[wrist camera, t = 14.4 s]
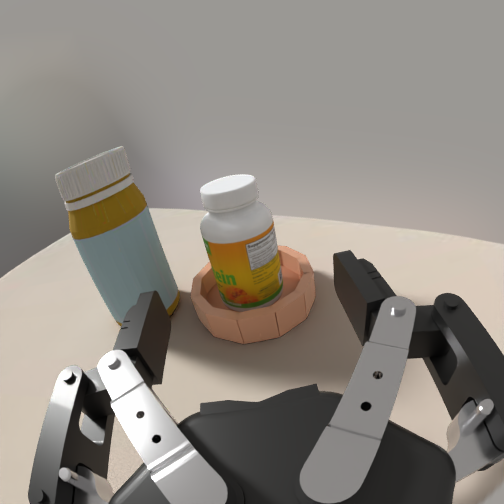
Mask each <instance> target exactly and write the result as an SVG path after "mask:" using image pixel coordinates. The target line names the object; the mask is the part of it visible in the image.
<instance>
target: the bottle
mask: <svg viewBox="0 0 504 504" xmlns="http://www.w3.org/2000/svg"><path fill="white" fill-rule="evenodd" d="M55 179H56V182H57V185H58V188H59V191H60V194H61V197H62V199H63V200H64V201H65V207H66V209H67V210H68V212H69V213H68V214H69V228H70V232H71V234H72V237H73V240H74V242H75V244H76V246H77V248H78V251H79V253H80V255H81V257H82V259H83V261H84V263H85V265H86V267H87V269H88V271H89V273H90V275H91V277H92V279H93V281H94V283H95V285H96V287H97V289H98V291H99V293H100V294H101V296H102V298H103V300H104V302H105V303H106V305H107V307H108V309H109V311H110V312H111V314H112V316H113V317H114V319H115V320H116V322H117V323H118V325H120V326H122V323H123V320H124V318H125V315H126V313H127V312H128V310H129V309H130V308H131V307H132V306H133V305H136V303H137V300H138V298H139V295H140V293H144V292H149V291H155V290H156V291H157V292H158V293H159V295H160V297H161V300H162V302H163V304H164V306H165V308H166V310H167V313H168V315H169V317H170V316H171V315H172V313H173V312H174V310H175V308H176V306H177V304H178V302H179V297H180V293H179V290H178V287H177V285H176V282H175V280H174V277H173V275H172V272H171V270H170V267H169V264H168V262H167V259H166V256H165V254H164V251H163V248H162V246H161V243H160V240H159V238H158V235H157V232H156V229H155V226H154V224H153V221H152V218H151V215H150V212H149V209H148V206H147V203H146V201H145V198H144V196H143V194H142V193H141V192H140V190H139V189H138V188H137V186H136V185H135V184H134V183H133V181H134V179H133V176H132V174H131V173H130V166H129V162H128V159H127V155H126V152H125V148H123V146H121V147H118V148H114V149H111V150H109V151H106V152H103V153H101V154H98V155H96V156H93V157H91V158H89V159H86V160H84V161H82V162H79V163H77V164H75V165H73V166H71V167H69V168H67V169H65V170H63V171H61V172H59V173H57V174H56V175H55Z"/></svg>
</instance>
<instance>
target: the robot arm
mask: <svg viewBox="0 0 504 504" xmlns="http://www.w3.org/2000/svg"><path fill="white" fill-rule="evenodd" d="M333 264H334V285H335V290H336V293H337V296H338V298H339V300H340V302H341V304H342V305H343V307H344V309H345V311H346V313H347V315H348V317H349V319H350V321H351V323H352V325H353V327H354V330H355V332H356V334H357V336H358V338H359V340H360V342H361V344H362V346H364V347H363V350H362V352H361V355H360V357H359V360H358V362H357V365H356V367H355V370H354V372H353V374H352V377H351V379H350V381H349V383H348V386H347V388H346V390H345V392H344V394H343V395H342V394H339V393H334V392H326V391H318V387H317V384H313V385H309V386H304V387H300V388H295V389H291V390H287V391H285V392H282V393H280V394H278V395H275V396H273V397H270V398H268V399H265V400H263V401H260V402H246V401H232V400H225V401H217V402H208V403H201V404H200V412H197V413H195V414H193V415H191V416H189V417H187V418H185V419H184V420H183V421H181V422H180V423H178V422H177V421H176V420H175V419H174V417H173V416H172V415H171V414H170V412H169V411H168V410H167V408H166V407H165V406H164V405H163V403H162V402H161V401H160V399H159V398H158V396H157V395H156V394H155V392H154V391H153V390H152V385H156V384H162V378H163V371H164V365H165V359H166V353H167V348H168V342H169V336H170V331H171V321H170V317H169V315H168V313H167V310H166V308H165V306H164V304H163V302H162V300H161V297H160V295H159V293H158V292H157V291H156V290H155V291H149V292H144V293H140V295H139V298H138V300H137V303H136V305H133V306H132V307H131V308H130V309H129V310H128V312H127V313H126V315H125V318H124V320H123V323H122V326H121V330H120V331H119V334H118V337H117V340H116V343H115V345H114V348H113V351H110V352H108V353H107V354H105V355H104V356H103V357H102V358H101V360H100V361H99V364H98V367H97V368H94V369H91V370H89V371H86V372H83V371H82V369H81V368H80V367H79V366H77V365H71V366H68V367H66V368H65V369H64V370H63V371H62V372H61V373H60V374H59V376H58V378H57V381H56V384H55V387H54V390H53V393H52V396H51V399H50V402H49V405H48V409H47V412H46V415H45V419H44V422H43V426H42V430H41V433H40V437H39V441H38V445H37V449H36V454H35V458H34V463H33V468H32V473H31V479H30V485H29V491H28V498H29V502H30V504H452V499H453V492H454V487H455V483H457V482H458V481H460V480H462V479H464V478H466V477H468V476H469V475H471V474H473V473H475V472H476V471H483V470H486V469H488V468H489V467H491V466H492V465H494V464H495V463H498V462H499V461H501V460H502V459H504V355H503V354H502V352H501V351H500V349H499V348H498V346H497V345H496V343H495V342H494V340H493V339H492V338H491V336H490V335H489V333H488V332H487V331H486V329H485V328H484V326H483V325H482V324H481V322H480V321H479V320H478V318H477V317H476V316H475V314H474V313H473V312H472V311H471V309H470V308H469V307H468V305H467V304H466V303H465V302H464V300H463V299H462V298H460V297H459V296H457V295H455V294H451V293H444V294H441V295H439V296H438V297H437V298H436V299H435V302H434V305H427V306H415V304H414V303H413V302H412V301H411V300H409V299H408V298H405V297H401V296H396V294H395V293H394V292H393V290H392V289H391V288H390V286H389V285H388V284H387V282H386V281H385V280H384V278H383V277H382V276H381V275H380V273H379V272H377V269H376V268H375V267H374V266H373V264H372V263H370V262H368V261H367V260H365V259H358V260H357V258H356V257H355V256H354V254H353V253H352V252H351V251H350V250H348V251H343V252H339V253H335V254H334V255H333ZM411 358H423V360H424V362H425V364H426V366H427V368H428V370H429V372H430V374H431V376H432V378H433V380H434V382H435V384H436V386H437V388H438V390H439V392H440V395H441V397H442V399H443V401H444V403H445V406H446V408H447V410H448V412H449V415H450V417H451V419H452V421H451V423H450V424H449V426H448V429H447V440H448V449H447V452H446V451H445V450H444V449H443V448H441V447H440V446H438V445H436V444H434V443H432V442H430V441H428V440H426V439H424V438H422V437H420V436H418V435H416V434H414V433H413V432H411V431H409V430H407V429H405V428H403V427H401V426H399V425H398V424H396V423H394V422H392V421H390V420H389V417H390V414H391V411H392V408H393V405H394V402H395V399H396V396H397V393H398V389H399V386H400V382H401V379H402V375H403V372H404V368H405V364H406V360H407V359H411ZM81 411H82V412H83V413H84V418H83V423H82V428H81V431H80V428H79V419H80V415H81ZM115 413H116V415H117V417H118V419H119V421H120V423H121V425H122V426H123V428H124V430H125V432H126V433H127V435H128V437H129V439H130V440H131V442H132V444H133V445H134V447H135V449H136V450H137V452H138V453H139V455H140V457H141V458H142V460H143V461H144V463H143V464H142V465H141V466H140V467H139V468H138V469H137V470H136V472H135V473H134V474H133V475H132V476H131V477H130V478H129V479H128V480H127V481H126V482H125V483H124V484H123V485H122V487H121V488H120V489H119V490H118V491H117V492H116V493H115V494H114V493H113V492H112V487H111V485H110V483H109V482H108V481H107V473H108V462H109V453H110V445H111V437H112V430H113V423H114V417H115Z"/></svg>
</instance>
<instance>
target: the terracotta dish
mask: <svg viewBox="0 0 504 504" xmlns="http://www.w3.org/2000/svg"><path fill="white" fill-rule="evenodd" d="M278 253H279V259H280V265H281V272H282V278H283V291H282V294H281V296H280V297H279V299H278V300H277V301H276V302H275V303H273V304H272V305H270V306H268V307H263V308H258V309H253V310H248V311H243V312H238V311H235V310H232V309H230V308H228V307H227V306H226V305H225V304H224V303H223V301H222V299H221V296H220V293H219V290H218V287H217V283H216V280H215V277H214V273H213V270H212V267H211V264H210V262H209V263H208V264H207V265H206V266H205V267H204V268H203V269H202V270H201V271H200V272H199V273H198V274H197V275H196V276H195V277H194V278H193V283H192V290H191V300H192V302H193V305H194V307H195V310H196V312H197V315H198V317H199V320H200V321H201V322H202V323H203V324H204V326H205V327H206V328H207V329H208V330H209V331H210V333H211V334H212V335H213V336H214V337H217V338H221V339H225V340H229V341H233V342H237V343H241V344H244V343H245V344H248V343H253V342H258V341H263V340H269V339H274V338H278V337H279V336H280V337H281V336H282V335H284V334H285V333H287V332H288V331H290V330H291V329H292V328H294V327H295V326H297V325H298V324H300V323H301V322H302V321H304V320H305V319H306V318H307V316H308V314H309V312H310V309H311V307H312V304H313V302H314V300H315V297H316V296H315V282H314V272H313V270H312V268H311V265H310V263H309V261H308V259H307V257H306V256H305V255H304V254H301V253H299V252H297V251H295V250H293V249H291V248H289V247H287V246H278Z"/></svg>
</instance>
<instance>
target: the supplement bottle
mask: <svg viewBox="0 0 504 504" xmlns="http://www.w3.org/2000/svg"><path fill="white" fill-rule="evenodd" d="M200 194H201V198H202V202H203V205H204V208H205V210H206V211H208V213H207V214H206V215H205V216H204V217H203V219H202V221H201V226H200V229H201V234H202V237H203V241H204V244H205V247H206V250H207V254H208V257H209V260H210V264H211V267H212V270H213V273H214V277H215V280H216V283H217V287H218V290H219V293H220V296H221V299H222V301H223V303H224V304H225V305H226V306H227V307H228V308H230V309H232V310H235V311H238V312H243V311H248V310H253V309H258V308H263V307H268V306H270V305H272V304H273V303H275V302H276V301H277V300H278V299H279V297H280V296H281V294H282V291H283V278H282V272H281V265H280V259H279V253H278V246H277V240H276V234H275V228H274V222H273V218H272V213H271V211H270V209H269V208H268V207H267V206H266V205H265V204H264V203H262V202H259V201H256V200H257V199H258V188H257V183H256V179H255V177H253V176H252V175H246V174H241V175H240V174H239V175H231V176H227V177H222V178H219V179H216V180H214V181H211V182H209V183H207V184H205V185H204V186H203V187H202V188H201V190H200Z"/></svg>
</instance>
